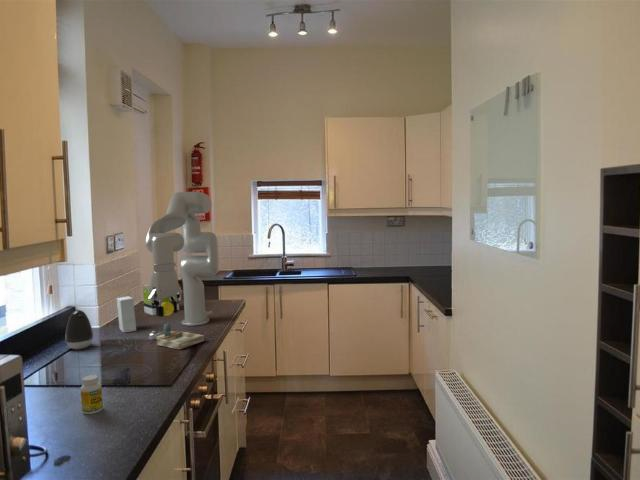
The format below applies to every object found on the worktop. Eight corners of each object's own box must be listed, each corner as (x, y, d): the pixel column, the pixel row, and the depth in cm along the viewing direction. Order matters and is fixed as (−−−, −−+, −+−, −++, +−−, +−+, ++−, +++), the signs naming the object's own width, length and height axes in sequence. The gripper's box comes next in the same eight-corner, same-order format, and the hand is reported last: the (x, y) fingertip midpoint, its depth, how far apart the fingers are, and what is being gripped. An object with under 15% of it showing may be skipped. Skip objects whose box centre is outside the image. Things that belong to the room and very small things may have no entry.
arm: (147, 343, 205) (146, 326, 204) (172, 335, 216) (171, 319, 215) (179, 349, 195) (178, 332, 194) (204, 340, 206) (203, 324, 205)
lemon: (160, 315, 195) (159, 301, 196) (174, 314, 197) (173, 300, 197) (159, 317, 189) (158, 303, 189) (174, 316, 190) (173, 301, 190)
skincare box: (136, 330, 226) (134, 298, 224) (122, 333, 222) (120, 300, 221) (132, 327, 233) (130, 295, 231) (118, 329, 229) (116, 297, 228)
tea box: (170, 307, 272) (169, 280, 270) (179, 310, 264) (178, 282, 263) (143, 312, 261) (142, 284, 260) (152, 315, 254) (150, 286, 253)
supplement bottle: (93, 405, 145) (91, 373, 144) (107, 408, 143) (105, 375, 142) (77, 412, 140) (75, 379, 139) (91, 416, 138) (88, 382, 137)
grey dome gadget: (72, 353, 195) (69, 314, 194) (62, 348, 202) (59, 311, 201) (98, 346, 203) (96, 309, 201) (87, 342, 210) (85, 306, 208)
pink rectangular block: (170, 337, 213) (170, 330, 213) (177, 338, 211) (176, 331, 211) (166, 338, 211) (165, 331, 211) (172, 340, 209) (172, 333, 209)
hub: (156, 336, 216) (155, 328, 215) (163, 337, 213) (163, 330, 213) (146, 339, 212) (146, 331, 211) (154, 340, 209) (153, 333, 209)
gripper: (175, 263, 200) (178, 308, 202) (138, 270, 186) (141, 318, 188) (188, 265, 196) (191, 310, 198) (151, 272, 182) (154, 320, 184)
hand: (167, 313), depth 193 cm, fingers closed on lemon, 5 cm apart
